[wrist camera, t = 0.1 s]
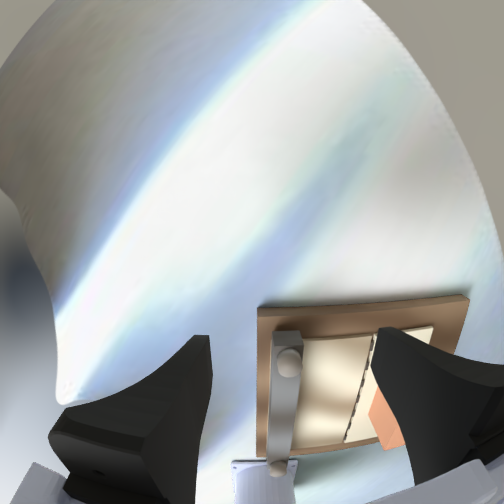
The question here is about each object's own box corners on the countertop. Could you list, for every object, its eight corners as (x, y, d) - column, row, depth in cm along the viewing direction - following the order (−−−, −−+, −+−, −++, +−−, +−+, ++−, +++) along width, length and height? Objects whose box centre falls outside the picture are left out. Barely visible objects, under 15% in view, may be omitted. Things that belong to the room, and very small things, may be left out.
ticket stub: (392, 430, 24) (408, 463, 19) (343, 440, 24) (355, 478, 19) (431, 325, 20) (464, 357, 15) (374, 333, 20) (402, 372, 15)
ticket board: (414, 423, 26) (429, 449, 21) (256, 447, 26) (257, 482, 21) (461, 294, 22) (493, 315, 17) (257, 307, 21) (259, 343, 16)
